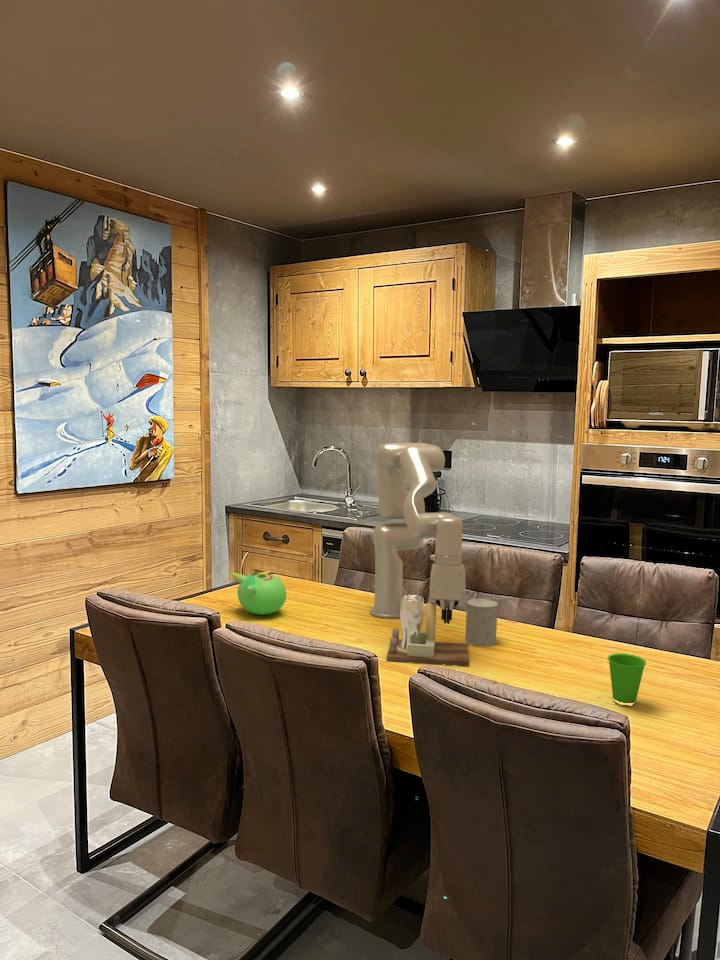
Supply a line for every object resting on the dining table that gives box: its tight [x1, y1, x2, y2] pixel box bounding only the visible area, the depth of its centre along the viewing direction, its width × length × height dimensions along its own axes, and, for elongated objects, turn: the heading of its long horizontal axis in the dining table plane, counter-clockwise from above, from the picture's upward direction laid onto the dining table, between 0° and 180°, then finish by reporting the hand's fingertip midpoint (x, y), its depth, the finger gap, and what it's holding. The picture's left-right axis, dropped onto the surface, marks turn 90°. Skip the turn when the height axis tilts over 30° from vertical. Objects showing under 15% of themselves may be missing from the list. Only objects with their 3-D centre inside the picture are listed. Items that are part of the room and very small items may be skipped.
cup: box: [607, 652, 647, 703], centre depth 180 cm, size 9×9×11 cm
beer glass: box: [399, 594, 425, 651], centre depth 212 cm, size 7×7×15 cm
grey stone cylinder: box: [464, 597, 499, 648], centre depth 224 cm, size 10×10×12 cm
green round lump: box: [229, 570, 287, 616], centre depth 248 cm, size 18×17×15 cm
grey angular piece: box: [407, 601, 437, 658], centre depth 211 cm, size 13×8×14 cm, turn 173°
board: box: [386, 628, 470, 667], centre depth 212 cm, size 15×23×6 cm, turn 82°
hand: (446, 622), depth 210 cm, fingers closed
